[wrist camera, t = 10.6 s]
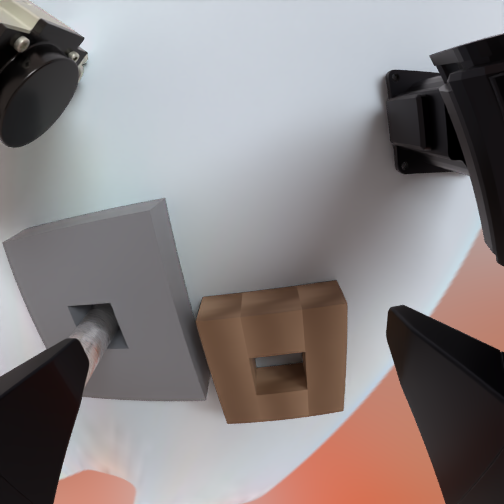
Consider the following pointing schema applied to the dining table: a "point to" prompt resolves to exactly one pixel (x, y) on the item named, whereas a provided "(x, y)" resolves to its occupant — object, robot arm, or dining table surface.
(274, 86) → the dining table surface
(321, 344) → the walnut mount
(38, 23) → the pneumatic valve
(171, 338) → the socket plate
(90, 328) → the steel pin
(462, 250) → the dining table surface
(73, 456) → the dining table surface
